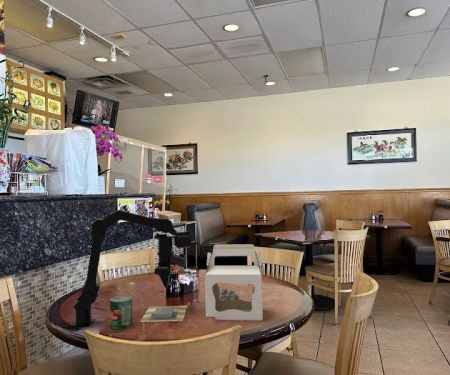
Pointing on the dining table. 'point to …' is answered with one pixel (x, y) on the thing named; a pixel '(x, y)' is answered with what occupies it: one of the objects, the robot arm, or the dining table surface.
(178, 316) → the board
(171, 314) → the tile
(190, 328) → the dining table surface
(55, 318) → the dining table surface
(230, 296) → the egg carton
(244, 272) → the gable box
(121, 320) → the canned tomato
